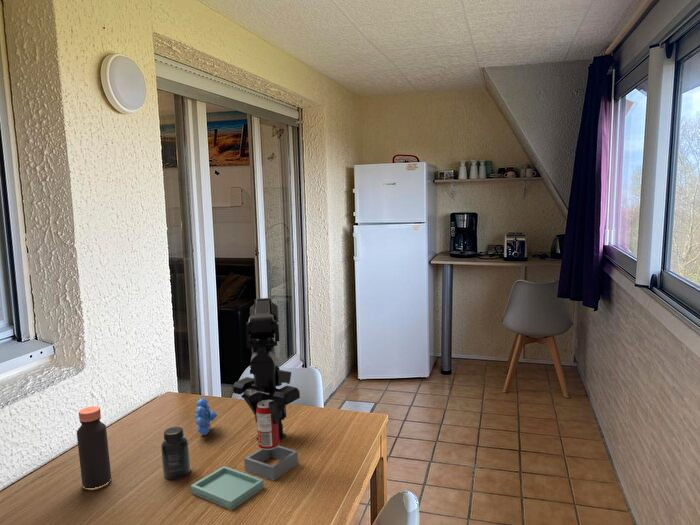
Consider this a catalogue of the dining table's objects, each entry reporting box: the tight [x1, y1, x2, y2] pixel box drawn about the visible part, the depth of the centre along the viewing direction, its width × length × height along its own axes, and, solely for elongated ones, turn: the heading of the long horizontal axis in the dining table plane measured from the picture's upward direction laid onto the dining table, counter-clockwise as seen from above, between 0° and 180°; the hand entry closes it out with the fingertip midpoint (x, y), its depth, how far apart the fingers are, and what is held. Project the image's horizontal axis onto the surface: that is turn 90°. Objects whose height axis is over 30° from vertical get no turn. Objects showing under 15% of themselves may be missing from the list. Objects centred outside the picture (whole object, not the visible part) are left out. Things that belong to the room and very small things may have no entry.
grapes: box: [194, 397, 218, 436], centre depth 162 cm, size 12×7×12 cm, turn 8°
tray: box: [190, 465, 265, 510], centre depth 131 cm, size 14×11×2 cm
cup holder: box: [243, 445, 299, 482], centre depth 141 cm, size 10×10×4 cm
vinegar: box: [76, 405, 112, 488], centre depth 135 cm, size 7×7×20 cm
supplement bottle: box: [160, 426, 191, 480], centre depth 139 cm, size 7×7×12 cm
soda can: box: [256, 400, 281, 450], centre depth 140 cm, size 6×6×12 cm
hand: (267, 421), depth 139 cm, fingers closed on soda can, 5 cm apart
